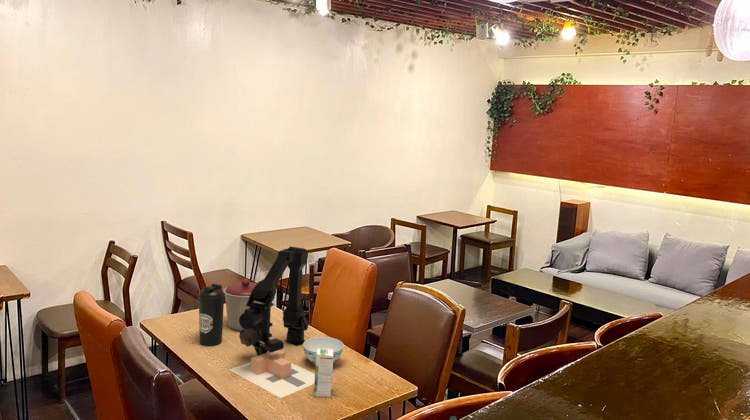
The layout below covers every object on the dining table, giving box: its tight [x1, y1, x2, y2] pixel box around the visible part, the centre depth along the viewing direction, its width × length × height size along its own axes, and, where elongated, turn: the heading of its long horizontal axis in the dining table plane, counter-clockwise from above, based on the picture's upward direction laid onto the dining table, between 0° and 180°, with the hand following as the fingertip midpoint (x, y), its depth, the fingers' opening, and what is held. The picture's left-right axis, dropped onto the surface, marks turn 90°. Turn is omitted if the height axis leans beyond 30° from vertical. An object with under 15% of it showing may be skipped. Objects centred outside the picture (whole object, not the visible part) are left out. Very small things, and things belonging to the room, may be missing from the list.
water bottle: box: [197, 283, 226, 347], centre depth 222 cm, size 10×10×23 cm
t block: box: [250, 349, 292, 379], centre depth 200 cm, size 12×12×5 cm
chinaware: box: [302, 336, 345, 365], centre depth 210 cm, size 15×15×8 cm
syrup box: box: [313, 349, 334, 398], centre depth 187 cm, size 6×6×14 cm
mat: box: [229, 361, 315, 399], centre depth 199 cm, size 20×28×1 cm
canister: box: [222, 278, 261, 332], centre depth 241 cm, size 18×18×21 cm
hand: (260, 361), depth 206 cm, fingers closed
